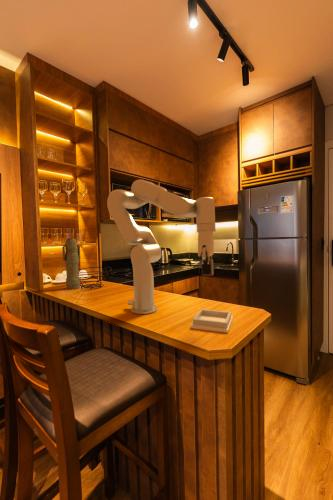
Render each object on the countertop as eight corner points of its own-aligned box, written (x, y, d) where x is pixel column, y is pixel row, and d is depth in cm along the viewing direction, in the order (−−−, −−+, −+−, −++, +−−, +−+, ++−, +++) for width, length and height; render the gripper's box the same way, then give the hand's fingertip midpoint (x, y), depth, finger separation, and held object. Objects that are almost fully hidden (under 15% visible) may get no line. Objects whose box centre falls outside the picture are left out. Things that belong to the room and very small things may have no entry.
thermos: (84, 287, 170) (82, 237, 168) (69, 290, 161) (66, 238, 158) (77, 285, 175) (74, 238, 173) (62, 288, 166) (59, 238, 163)
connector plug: (198, 275, 97) (197, 260, 97) (200, 273, 101) (199, 259, 101) (211, 275, 95) (211, 260, 95) (213, 274, 99) (213, 259, 99)
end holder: (190, 328, 91) (190, 320, 91) (200, 314, 106) (200, 308, 106) (227, 332, 86) (227, 324, 86) (233, 318, 101) (233, 311, 101)
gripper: (201, 229, 106) (203, 270, 107) (191, 228, 90) (193, 276, 91) (218, 228, 103) (220, 270, 104) (211, 227, 88) (213, 276, 89)
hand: (207, 272), depth 98 cm, fingers closed on connector plug, 4 cm apart
